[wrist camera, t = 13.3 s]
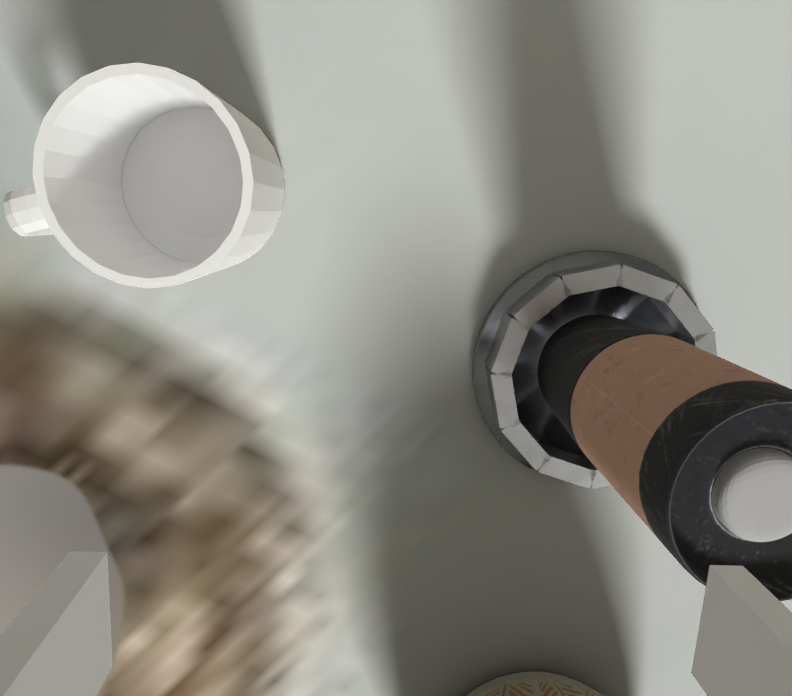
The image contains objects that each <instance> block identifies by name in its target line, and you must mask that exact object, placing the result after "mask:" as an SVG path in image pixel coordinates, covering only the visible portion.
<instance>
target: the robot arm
mask: <svg viewBox="0 0 792 696" xmlns="http://www.w3.org/2000/svg"><path fill="white" fill-rule="evenodd" d="M109 601H110V600H109V577H108V555H107V552H72V551H70V552H69V553H68V555H67V556H66V557H65V558H64V559H63V561H62V562H61V563H60V564H59V566H58V567H57V568H56V569H55V570H54V571H53V573H52V574H51V575H50V576H49V578H48V579H47V580H46V581H45V582H44V583H43V585H42V586H41V587H40V588H39V589H38V591H37V592H36V593H35V594H34V595H33V597H32V598H31V599H30V600H29V601H28V603H27V604H26V605H25V606H24V607H23V609H22V610H21V611H20V612H19V613H18V615H17V616H16V617H15V618H14V619H13V621H12V622H11V623H10V624H9V626H8V627H7V628H6V629H5V630H4V631H3V633H2V634H1V635H0V696H97V694H98V692H99V690H100V689H101V687H102V685H103V683H104V681H105V679H106V677H107V676H108V674H109V672H110V670H111V668H112V645H111V622H110V602H109ZM691 673H692V674H693V676H694V677H695V679H696V680H697V681H698V683H699V684H700V686H701V687H702V689H703V690H704V691H705V693H706V694H707V696H792V612H791V611H790V610H789V609H788V608H786V607H785V606H784V605H783V604H782V603H781V602H780V601H779V600H778V599H777V598H776V597H775V596H774V595H773V594H772V593H771V592H770V591H769V590H768V589H767V588H766V587H765V586H763V585H762V584H761V583H760V582H759V581H758V580H757V579H756V578H755V577H754V576H753V575H752V574H751V573H750V572H749V571H748V570H747V569H746V568H745V567H744V566H731V565H710V566H709V572H708V578H707V584H706V590H705V595H704V601H703V607H702V613H701V619H700V625H699V631H698V637H697V643H696V649H695V655H694V661H693V666H692V672H691Z"/></svg>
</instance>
